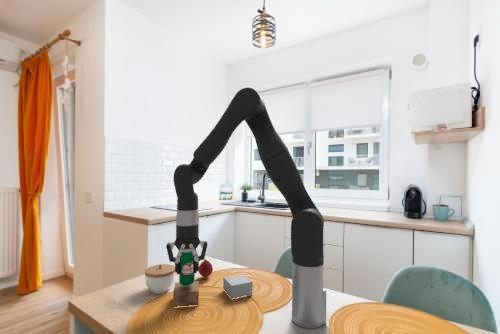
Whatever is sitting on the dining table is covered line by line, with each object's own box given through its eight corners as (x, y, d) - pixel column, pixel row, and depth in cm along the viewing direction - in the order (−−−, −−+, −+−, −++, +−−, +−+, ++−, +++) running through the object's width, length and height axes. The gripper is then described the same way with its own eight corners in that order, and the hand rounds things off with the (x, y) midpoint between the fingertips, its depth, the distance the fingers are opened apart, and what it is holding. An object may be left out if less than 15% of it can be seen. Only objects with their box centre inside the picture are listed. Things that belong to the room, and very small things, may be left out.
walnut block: (198, 295, 94) (198, 281, 94) (198, 306, 86) (198, 291, 86) (175, 297, 92) (175, 282, 93) (173, 308, 85) (173, 293, 85)
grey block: (242, 286, 101) (242, 273, 101) (252, 295, 94) (252, 281, 94) (223, 290, 98) (223, 277, 98) (231, 300, 90) (231, 285, 91)
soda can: (182, 287, 86) (182, 250, 86) (177, 281, 90) (177, 246, 90) (196, 283, 89) (197, 248, 89) (191, 278, 93) (191, 244, 93)
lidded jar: (149, 299, 91) (149, 272, 91) (141, 288, 99) (141, 263, 100) (179, 291, 97) (179, 265, 97) (169, 281, 106) (169, 258, 106)
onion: (214, 275, 112) (214, 256, 112) (210, 281, 106) (210, 261, 106) (200, 275, 112) (200, 256, 113) (196, 280, 107) (196, 260, 107)
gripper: (164, 225, 85) (163, 278, 84) (209, 224, 88) (208, 275, 87) (166, 221, 92) (166, 270, 92) (208, 220, 95) (207, 267, 95)
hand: (187, 272), depth 90 cm, fingers open, 5 cm apart
